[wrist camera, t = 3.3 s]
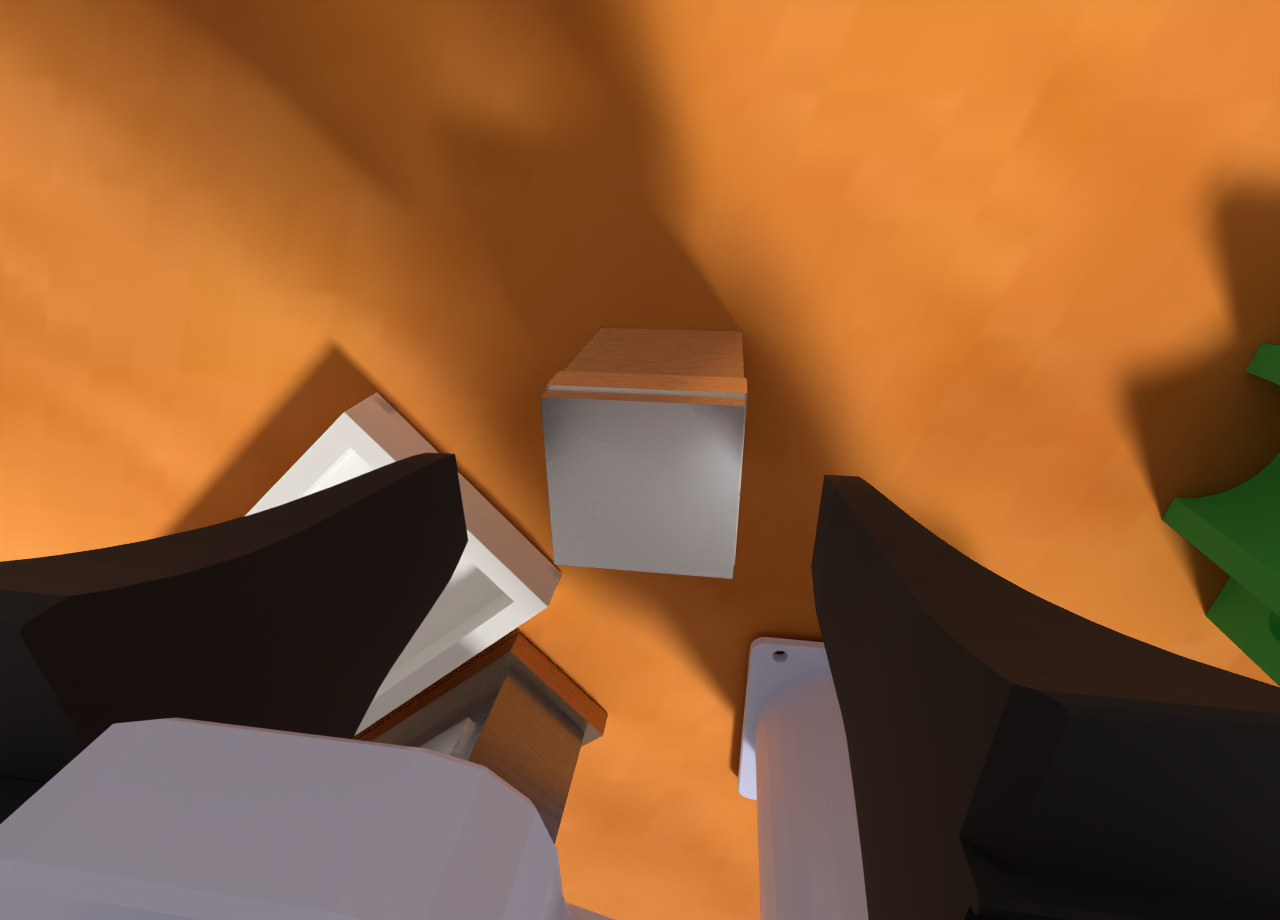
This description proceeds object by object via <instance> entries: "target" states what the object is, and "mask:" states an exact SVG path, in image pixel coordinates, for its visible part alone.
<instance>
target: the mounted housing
mask: <svg viewBox="0 0 1280 920" xmlns="http://www.w3.org/2000/svg"><path fill="white" fill-rule="evenodd" d="M607 716H608V714H607V713H606V712H605V711H604V710H603V709H601V708H600V707H599V706H598V705H597V704H596V703H595V702H594V701H593V700H592V699H591V698H590V697H588V696H587V695H586V694H585V693H584V692H583V691H582V690H581V689H580V688H579V687H578V686H577V685H576V684H574V683H573V682H572V681H571V680H570V679H569V678H568V677H567V676H566V675H565V674H564V673H563V672H561V671H560V670H559V669H558V668H557V667H556V666H555V665H554V664H553V663H552V662H551V661H550V660H549V659H547V658H546V657H545V656H544V655H543V654H542V653H541V652H540V651H539V650H538V649H537V648H536V647H534V646H533V645H532V644H531V643H530V642H529V641H528V640H527V639H526V638H525V637H524V636H523V635H522V634H520V633H518V634H516V635H515V636H513V637H512V638H510V639H509V640H507V641H506V642H504V643H503V644H501V645H500V646H498V647H497V648H495V649H494V650H492V651H491V652H489V653H488V654H486V655H485V656H483V657H482V658H480V659H479V660H477V661H475V662H474V663H472V664H471V665H469V666H468V667H466V668H465V669H463V670H462V671H460V672H459V673H457V674H456V675H454V676H453V677H451V678H450V679H448V680H447V681H445V682H444V683H442V684H441V685H439V686H438V687H436V688H435V689H433V690H432V691H430V692H429V693H427V694H426V695H424V696H423V697H421V698H420V699H418V700H417V701H415V702H414V703H412V704H411V705H409V706H408V707H406V708H405V709H403V710H401V711H400V712H398V713H397V714H395V715H394V716H392V717H391V718H389V719H388V720H386V721H385V722H383V723H382V724H380V725H379V726H377V727H376V728H374V729H373V730H371V731H370V732H368V733H367V734H365V735H364V736H362V737H361V738H359V739H358V740H361V741H369V742H377V743H385V744H393V745H401V746H409V747H418V748H426V749H430V750H433V751H437V752H440V753H443V754H447V755H450V756H453V757H456V758H460V759H463V760H466V761H469V762H473V763H476V764H479V765H482V766H485V767H487V768H488V769H490V770H491V771H492V772H494V773H495V774H496V775H498V776H499V777H500V778H502V779H503V780H504V781H506V782H507V783H508V784H510V785H511V786H512V787H514V788H515V789H516V790H518V791H519V792H520V793H522V794H523V795H524V796H526V797H527V798H528V799H530V800H531V802H532V803H533V805H534V806H535V808H536V809H537V811H538V813H539V815H540V817H541V819H542V821H543V823H544V825H545V827H546V829H547V831H548V833H549V835H550V837H551V839H552V841H553V843H554V844H555V840H556V837H557V833H558V829H559V826H560V822H561V818H562V814H563V811H564V807H565V803H566V800H567V796H568V792H569V789H570V785H571V781H572V778H573V774H574V770H575V766H576V763H577V759H578V755H579V752H580V748H581V747H582V746H584V745H586V744H587V743H589V742H591V741H593V740H595V739H597V738H599V737H601V736H603V733H604V728H605V724H606V720H607Z"/></svg>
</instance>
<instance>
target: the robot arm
mask: <svg viewBox="0 0 1280 920" xmlns="http://www.w3.org/2000/svg"><path fill="white" fill-rule="evenodd" d="M467 543H468V535H467V529H466V522H465V516H464V509H463V503H462V496H461V490H460V483H459V477H458V471H457V464H456V458H455V454H443V453H422V454H418V455H414V456H411V457H408V458H405V459H402V460H399V461H396V462H393V463H391V464H388V465H385V466H383V467H380V468H378V469H375V470H372V471H370V472H367V473H365V474H362V475H360V476H357V477H355V478H352V479H350V480H347V481H345V482H342V483H340V484H337V485H334V486H332V487H329V488H326V489H324V490H321V491H318V492H315V493H313V494H310V495H307V496H304V497H302V498H299V499H296V500H293V501H291V502H288V503H285V504H282V505H279V506H276V507H273V508H270V509H267V510H264V511H261V512H258V513H254V514H251V515H248V516H244V517H241V518H237V519H234V520H230V521H227V522H223V523H219V524H216V525H212V526H208V527H204V528H199V529H195V530H190V531H186V532H181V533H177V534H172V535H168V536H163V537H159V538H155V539H150V540H146V541H141V542H135V543H130V544H124V545H119V546H113V547H107V548H102V549H95V550H89V551H82V552H76V553H69V554H63V555H55V556H48V557H40V558H32V559H23V560H13V561H4V562H0V920H614V919H612V918H609V917H606V916H603V915H601V914H598V913H595V912H592V911H590V910H587V909H584V908H581V907H579V906H576V905H573V904H570V903H567V902H565V901H564V897H563V894H562V886H561V877H560V867H559V858H558V851H557V849H556V847H555V845H554V843H553V841H552V839H551V837H550V835H549V833H548V831H547V829H546V827H545V825H544V823H543V821H542V819H541V817H540V815H539V813H538V811H537V809H536V808H535V806H534V805H533V803H532V802H531V800H530V799H528V798H527V797H526V796H524V795H523V794H522V793H520V792H519V791H518V790H516V789H515V788H514V787H512V786H511V785H510V784H508V783H507V782H506V781H504V780H503V779H502V778H500V777H499V776H498V775H496V774H495V773H494V772H492V771H491V770H490V769H488V768H487V767H485V766H482V765H479V764H476V763H473V762H469V761H466V760H463V759H460V758H456V757H453V756H450V755H447V754H443V753H440V752H437V751H433V750H430V749H426V748H418V747H409V746H401V745H393V744H385V743H377V742H369V741H361V740H353V737H354V735H355V733H356V731H357V729H358V728H359V726H360V724H361V722H362V720H363V718H364V716H365V714H366V712H367V710H368V708H369V707H370V705H371V703H372V701H373V699H374V697H375V695H376V693H377V691H378V690H379V688H380V686H381V684H382V683H383V681H384V680H385V678H386V676H387V675H388V673H389V671H390V670H391V668H392V667H393V665H394V664H395V662H396V661H397V659H398V658H399V656H400V655H401V653H402V652H403V650H404V649H405V647H406V646H407V644H408V643H409V641H410V640H411V638H412V637H413V635H414V634H415V632H416V631H417V630H418V628H419V627H420V625H421V624H422V622H423V621H424V619H425V618H426V616H427V615H428V613H429V612H430V610H431V609H432V607H433V606H434V604H435V603H436V601H437V600H438V598H439V597H440V595H441V594H442V592H443V591H444V589H445V587H446V586H447V584H448V583H449V581H450V579H451V577H452V575H453V573H454V571H455V569H456V567H457V565H458V563H459V561H460V558H461V556H462V554H463V552H464V549H465V547H466V545H467ZM812 577H813V588H814V597H815V606H816V613H817V617H818V622H819V626H820V630H821V634H822V638H823V642H814V641H804V640H793V639H782V638H771V637H760V638H757V639H755V640H754V641H753V642H752V643H751V646H750V655H749V665H748V676H747V687H746V697H745V708H744V719H743V729H742V740H741V751H740V761H739V772H738V792H739V793H740V794H741V795H742V796H744V797H746V798H749V799H757V818H758V850H759V881H760V912H761V920H1280V687H1277V686H1273V685H1270V684H1267V683H1264V682H1261V681H1258V680H1254V679H1251V678H1248V677H1245V676H1242V675H1239V674H1235V673H1232V672H1229V671H1226V670H1223V669H1220V668H1216V667H1213V666H1210V665H1207V664H1204V663H1201V662H1197V661H1194V660H1191V659H1188V658H1185V657H1183V656H1180V655H1177V654H1174V653H1171V652H1169V651H1166V650H1163V649H1161V648H1158V647H1156V646H1153V645H1150V644H1148V643H1145V642H1142V641H1140V640H1137V639H1134V638H1132V637H1129V636H1126V635H1124V634H1121V633H1119V632H1116V631H1114V630H1112V629H1109V628H1107V627H1104V626H1102V625H1099V624H1097V623H1095V622H1092V621H1090V620H1088V619H1085V618H1083V617H1081V616H1079V615H1077V614H1075V613H1072V612H1070V611H1068V610H1066V609H1064V608H1061V607H1059V606H1057V605H1055V604H1053V603H1051V602H1048V601H1046V600H1044V599H1042V598H1040V597H1038V596H1036V595H1034V594H1032V593H1030V592H1028V591H1026V590H1024V589H1022V588H1021V587H1019V586H1017V585H1015V584H1013V583H1012V582H1010V581H1008V580H1006V579H1004V578H1003V577H1001V576H999V575H997V574H995V573H994V572H992V571H990V570H988V569H987V568H985V567H983V566H982V565H980V564H978V563H977V562H975V561H973V560H972V559H970V558H969V557H967V556H965V555H964V554H962V553H961V552H959V551H958V550H957V549H955V548H954V547H952V546H951V545H949V544H948V543H946V542H945V541H943V540H942V539H940V538H939V537H937V536H936V535H935V534H933V533H932V532H930V531H929V530H928V529H926V528H925V527H924V526H922V525H921V524H920V523H918V522H917V521H916V520H914V519H913V518H912V517H910V516H909V515H908V514H907V513H905V512H904V511H903V510H901V509H900V508H899V507H898V506H896V505H895V504H894V503H893V502H891V501H890V500H889V499H888V498H886V497H885V496H884V495H883V494H881V493H880V492H879V491H878V490H876V489H875V488H874V487H873V486H871V485H870V484H869V483H867V482H866V481H865V480H863V479H862V478H860V477H854V476H836V475H824V482H823V489H822V496H821V503H820V510H819V517H818V524H817V531H816V538H815V545H814V552H813V559H812ZM776 651H783V652H785V653H783V654H776V653H774V652H776Z"/></svg>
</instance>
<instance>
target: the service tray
mask: <svg viewBox="0 0 1280 920" xmlns="http://www.w3.org/2000/svg"><path fill="white" fill-rule="evenodd" d="M422 453H439V452H438V451H437V450H436V449H435V448H434V447H433V446H432V445H431V444H429V443H428V442H427V441H426V440H425V439H424V438H423V437H422V436H421V435H420V434H419V433H418V432H417V431H416V430H415V429H414V428H413V427H412V426H411V425H410V424H409V423H408V422H407V421H406V420H405V419H404V418H403V417H402V416H401V415H400V414H399V413H398V412H397V411H396V410H395V409H394V408H393V407H392V406H391V405H390V404H389V403H388V402H387V401H386V400H385V399H384V398H383V397H382V396H381V395H380V394H379V393H378V392H376V393H375V394H373V395H371V396H370V397H368V398H366V399H365V400H363V401H361V402H360V403H358V404H356V405H355V406H353V407H352V408H350V409H348V410H347V411H345V412H344V413H343V414H342V415H341V416H340V417H339V418H338V419H337V420H336V421H335V422H334V423H333V424H332V425H331V426H330V427H329V428H328V429H327V430H326V432H325V433H324V434H323V435H322V436H321V437H320V438H319V439H318V440H317V441H316V442H315V443H314V444H313V445H312V446H311V447H310V448H309V449H308V450H307V451H306V452H305V453H304V455H303V456H302V457H301V458H300V459H299V460H298V461H297V462H296V463H295V464H294V465H293V466H292V467H291V468H290V469H289V470H288V471H287V472H286V473H285V474H284V475H283V476H282V478H281V479H280V480H279V481H278V482H277V483H276V484H275V485H274V486H273V487H272V488H271V489H270V490H269V491H268V492H267V493H266V494H265V495H264V496H263V497H262V498H261V500H260V501H259V502H258V503H257V504H256V505H255V506H254V507H253V508H252V509H251V510H250V511H249V512H248V513H247V514H246V515H245V516H248V515H251V514H254V513H258V512H261V511H264V510H267V509H270V508H273V507H276V506H279V505H282V504H285V503H288V502H291V501H293V500H296V499H299V498H302V497H304V496H307V495H310V494H313V493H315V492H318V491H321V490H324V489H326V488H329V487H332V486H334V485H337V484H340V483H342V482H345V481H347V480H350V479H352V478H355V477H357V476H360V475H362V474H365V473H367V472H370V471H372V470H375V469H378V468H380V467H383V466H385V465H388V464H391V463H393V462H396V461H399V460H402V459H405V458H408V457H411V456H414V455H418V454H422ZM458 477H459V483H460V490H461V496H462V503H463V509H464V516H465V522H466V529H467V535H468V543H467V545H466V547H465V549H464V552H463V554H462V556H461V558H460V561H459V563H458V565H457V567H456V569H455V571H454V573H453V575H452V577H451V579H450V581H449V583H448V584H447V586H446V587H445V589H444V591H443V592H442V594H441V595H440V597H439V598H438V600H437V601H436V603H435V604H434V606H433V607H432V609H431V610H430V612H429V613H428V615H427V616H426V618H425V619H424V621H423V622H422V624H421V625H420V627H419V628H418V630H417V631H416V632H415V634H414V635H413V637H412V638H411V640H410V641H409V643H408V644H407V646H406V647H405V649H404V650H403V652H402V653H401V655H400V656H399V658H398V659H397V661H396V662H395V664H394V665H393V667H392V668H391V670H390V671H389V673H388V675H387V676H386V678H385V680H384V681H383V683H382V684H381V686H380V688H379V690H378V691H377V693H376V695H375V697H374V699H373V701H372V703H371V705H370V707H369V708H368V710H367V712H366V714H365V716H364V718H363V720H362V722H361V724H360V726H359V728H358V729H357V731H356V733H355V735H357V734H358V733H360V732H361V731H363V730H364V729H366V728H367V727H369V726H370V725H372V724H373V723H375V722H376V721H378V720H379V719H381V718H382V717H384V716H385V715H387V714H388V713H390V712H391V711H393V710H394V709H396V708H397V707H399V706H400V705H402V704H403V703H405V702H406V701H408V700H409V699H411V698H412V697H414V696H415V695H417V694H418V693H420V692H421V691H423V690H424V689H426V688H427V687H429V686H430V685H432V684H433V683H435V682H436V681H437V680H439V679H440V678H442V677H443V676H445V675H446V674H448V673H449V672H451V671H452V670H454V669H455V668H457V667H458V666H460V665H461V664H463V663H464V662H466V661H467V660H469V659H470V658H472V657H473V656H475V655H476V654H478V653H479V652H481V651H482V650H484V649H485V648H487V647H488V646H490V645H491V644H493V643H494V642H496V641H497V640H499V639H500V638H502V637H503V636H505V635H506V634H508V633H509V632H511V631H512V630H514V629H515V628H517V627H518V626H520V625H521V624H523V623H524V622H526V621H527V620H529V619H530V618H532V617H533V616H535V615H536V614H538V613H539V612H541V611H542V610H544V609H545V608H547V607H548V605H549V603H550V601H551V598H552V596H553V594H554V591H555V589H556V587H557V585H558V582H559V580H560V578H561V575H562V573H561V572H560V571H559V570H558V569H557V568H556V567H555V566H554V565H553V564H552V563H551V562H550V561H549V560H548V559H547V558H546V557H545V556H544V555H542V554H541V553H540V552H539V551H538V550H537V549H536V548H535V547H534V546H533V545H532V544H531V543H530V542H529V541H528V540H527V539H526V538H525V537H524V536H523V535H522V534H521V533H520V532H519V531H518V530H517V529H516V528H515V527H514V526H513V525H512V524H511V523H510V522H509V521H508V520H507V519H506V518H505V517H504V516H503V515H502V514H501V513H500V512H499V511H498V510H497V509H496V508H495V507H494V506H493V505H492V504H491V503H490V502H489V501H488V500H487V499H485V498H484V497H483V496H482V495H481V494H480V493H479V492H478V491H477V490H476V489H475V488H474V487H473V486H472V485H471V484H470V483H469V482H468V481H467V480H466V479H465V478H464V477H463V476H462V475H461V474H460V473H459V472H458ZM355 735H354V736H355Z"/></svg>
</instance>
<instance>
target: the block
mask: <svg viewBox="0 0 1280 920" xmlns="http://www.w3.org/2000/svg"><path fill="white" fill-rule="evenodd" d="M546 386H547V390H546V391H545V393H544V394H543V395H542V396H541V409H542V421H543V433H544V445H545V458H546V470H547V482H548V494H549V507H550V519H551V531H552V543H553V556H554V564H555V565H567V566H580V567H592V568H605V569H617V570H629V571H642V572H654V573H667V574H679V575H691V576H704V577H716V578H729V579H733V565H735V555H736V541H737V528H738V514H739V501H740V487H741V474H742V460H743V447H744V433H745V420H746V406H747V378H744V365H743V339H742V331H708V330H672V329H635V328H600V329H599V331H598V332H597V333H596V334H595V335H594V336H593V337H592V339H591V340H590V341H589V342H588V343H587V344H586V345H585V347H584V348H583V349H582V350H581V351H580V352H579V354H578V355H577V356H576V357H575V358H574V359H573V360H572V362H571V363H570V364H569V365H568V366H567V367H566V368H565V370H564V371H559V372H558V373H557V374H556V375H555V376H554V377H553V378H552V379H551V381H550V382H549V383H548V384H547V385H546Z"/></svg>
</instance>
